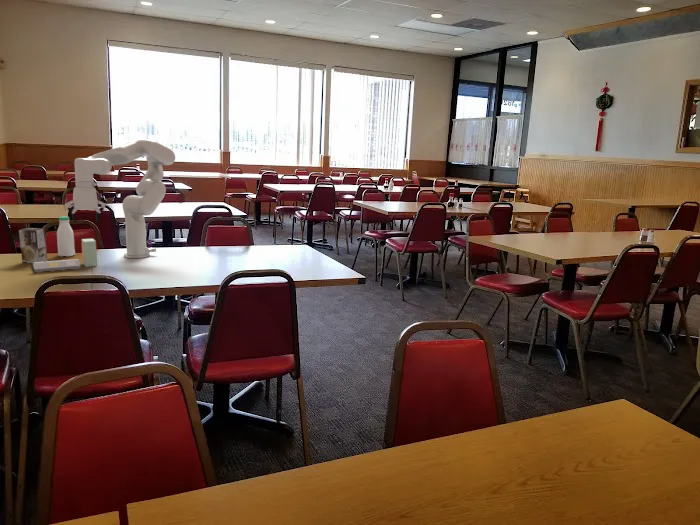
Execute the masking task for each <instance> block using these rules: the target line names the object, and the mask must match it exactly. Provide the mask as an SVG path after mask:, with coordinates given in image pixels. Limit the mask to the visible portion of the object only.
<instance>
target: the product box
mask: <svg viewBox="0 0 700 525" xmlns="http://www.w3.org/2000/svg"><path fill="white" fill-rule="evenodd" d="M81 254H82V264H83V265H84V266H85V268H87V267H88V268H89V266H90V267H97V266H98V257H97V256H98V255H97V241H96V240H95V239H94V238H81Z"/></svg>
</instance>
